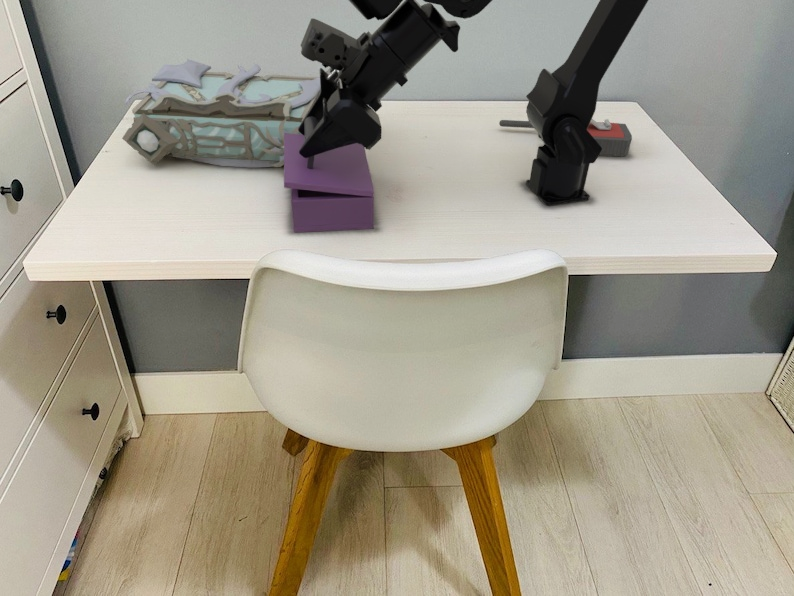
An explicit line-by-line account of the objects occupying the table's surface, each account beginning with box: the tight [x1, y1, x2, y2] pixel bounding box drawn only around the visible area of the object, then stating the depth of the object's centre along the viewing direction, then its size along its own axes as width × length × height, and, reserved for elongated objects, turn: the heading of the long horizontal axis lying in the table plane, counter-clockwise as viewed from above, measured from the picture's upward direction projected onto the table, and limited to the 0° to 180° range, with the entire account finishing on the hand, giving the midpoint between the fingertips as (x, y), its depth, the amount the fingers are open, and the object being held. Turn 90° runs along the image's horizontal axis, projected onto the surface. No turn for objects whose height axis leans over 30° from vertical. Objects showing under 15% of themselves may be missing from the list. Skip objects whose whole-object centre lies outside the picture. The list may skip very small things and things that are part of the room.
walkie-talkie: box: [498, 118, 633, 157], centre depth 100 cm, size 9×4×20 cm
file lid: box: [283, 116, 375, 197], centre depth 80 cm, size 10×14×5 cm
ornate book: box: [121, 58, 320, 168], centre depth 96 cm, size 23×10×30 cm
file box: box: [290, 188, 375, 233], centre depth 83 cm, size 10×14×4 cm
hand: (301, 143), depth 79 cm, fingers closed on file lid, 6 cm apart
